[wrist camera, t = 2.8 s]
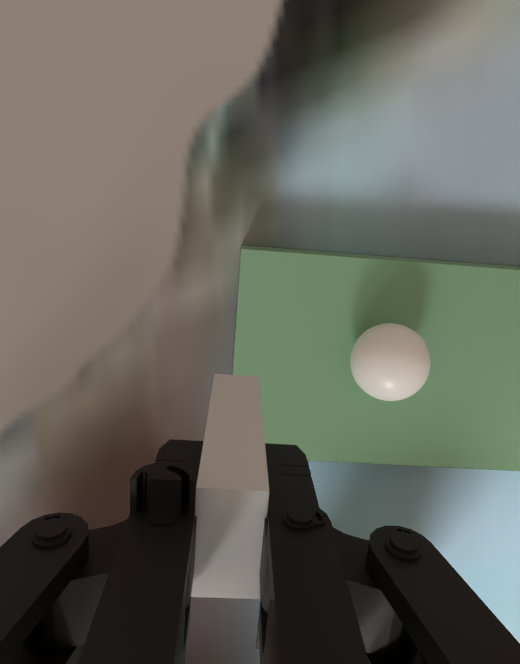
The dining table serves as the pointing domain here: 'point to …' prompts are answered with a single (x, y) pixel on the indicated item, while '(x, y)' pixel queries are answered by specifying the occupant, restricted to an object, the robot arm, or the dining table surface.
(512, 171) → the dining table surface
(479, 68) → the dining table surface
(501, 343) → the putting mat
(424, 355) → the ball
